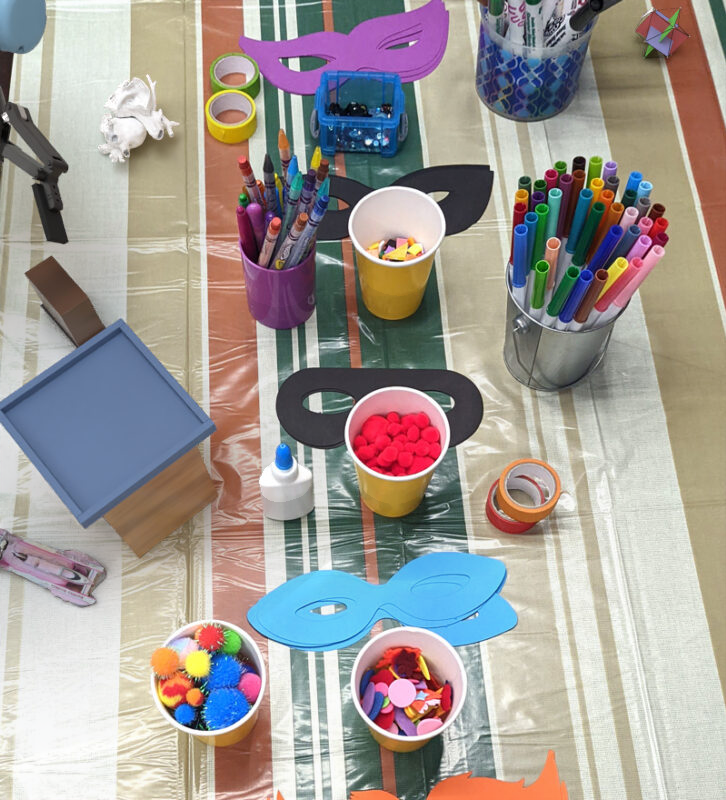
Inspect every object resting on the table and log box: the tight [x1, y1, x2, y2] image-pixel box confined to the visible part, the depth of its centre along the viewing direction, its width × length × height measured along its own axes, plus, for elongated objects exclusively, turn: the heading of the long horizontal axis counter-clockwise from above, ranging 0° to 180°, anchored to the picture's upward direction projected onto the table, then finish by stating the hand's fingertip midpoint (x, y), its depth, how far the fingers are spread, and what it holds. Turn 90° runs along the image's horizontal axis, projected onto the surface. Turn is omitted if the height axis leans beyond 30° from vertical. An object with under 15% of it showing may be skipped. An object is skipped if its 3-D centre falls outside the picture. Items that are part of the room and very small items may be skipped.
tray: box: [0, 317, 218, 530], centre depth 89 cm, size 16×16×2 cm
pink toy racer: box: [0, 528, 107, 608], centre depth 103 cm, size 13×6×4 cm, turn 70°
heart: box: [97, 74, 180, 163], centre depth 125 cm, size 12×7×12 cm
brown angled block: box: [24, 255, 107, 350], centre depth 112 cm, size 10×5×10 cm, turn 41°
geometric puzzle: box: [634, 5, 691, 59], centre depth 131 cm, size 7×7×8 cm
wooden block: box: [102, 445, 220, 559], centre depth 99 cm, size 12×12×20 cm
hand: (15, 263), depth 103 cm, fingers open, 13 cm apart
